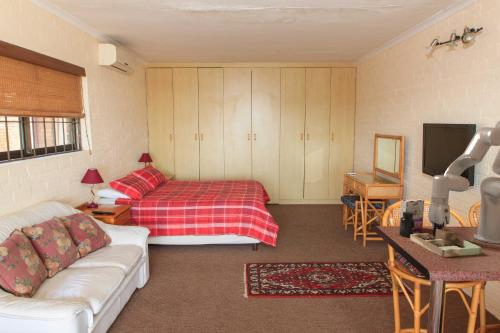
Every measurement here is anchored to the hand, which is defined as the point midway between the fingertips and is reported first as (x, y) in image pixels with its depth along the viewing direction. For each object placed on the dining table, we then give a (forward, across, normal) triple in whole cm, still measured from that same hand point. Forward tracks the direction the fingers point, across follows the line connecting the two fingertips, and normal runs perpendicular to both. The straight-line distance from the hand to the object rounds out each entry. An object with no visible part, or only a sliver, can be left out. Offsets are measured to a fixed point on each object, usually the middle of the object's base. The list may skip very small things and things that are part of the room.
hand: (436, 236), depth 178 cm
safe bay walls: (+1, -17, +4) cm, 17 cm away
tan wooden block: (+1, -6, 0) cm, 6 cm away
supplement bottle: (+2, +8, +11) cm, 14 cm away
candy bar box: (+2, +17, +2) cm, 17 cm away
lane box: (+1, -10, +4) cm, 11 cm away
